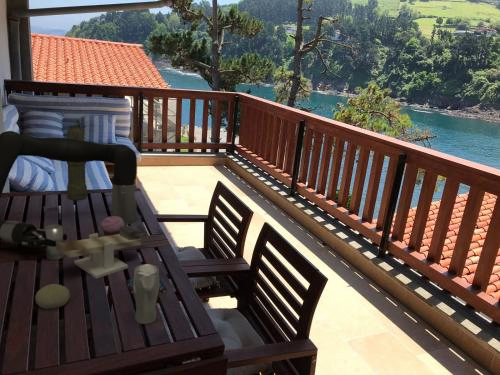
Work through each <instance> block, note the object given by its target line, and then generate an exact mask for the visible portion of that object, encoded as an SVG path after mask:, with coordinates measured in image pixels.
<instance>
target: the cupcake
mask: <svg viewBox="0 0 500 375" xmlns="http://www.w3.org/2000/svg"><path fill="white" fill-rule="evenodd" d="M125 226H126V224H124V221H123V219H122V218H120V217H118V216H106V217H105V218H104V219H103V220H102V221H101V222H100V229H101V231H103V232H102V233H103V236H110V235H117V234H120V227H125Z"/></svg>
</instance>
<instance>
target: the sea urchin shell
mask: <svg viewBox="0 0 500 375" xmlns="http://www.w3.org/2000/svg"><path fill="white" fill-rule="evenodd" d="M70 296H71V294H70V290H69V289H68V287H67V286H65V285H61V284H58V283H52V284H51V283H50V284H48V285H45V286H43V287H41V289H39V290H38V291H37V292H36V294H35V297H34V298H35V299H34V300H35V303H36V304H37V305H38V306H39V307H40V308H42V309H45V310H46V309H48V310H49V309H50V310H52V309H57V308H60V307H63V306H64V305H66V303H68V301H69V299H70Z"/></svg>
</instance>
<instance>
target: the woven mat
mask: <svg viewBox="0 0 500 375" xmlns="http://www.w3.org/2000/svg"><path fill="white" fill-rule="evenodd" d="M133 280H134V278H133V279H127V280H126V282H125V284H126V287H127V288H128V290H129V291H130V294H131V295H132V297H133V298H134V299H135V295H134V289H133ZM166 291H167V288H166V285H165V283H163V281H161V279H160V278H159V292H158V294H160V295H161V294H162V293H164V294H165V293H166Z"/></svg>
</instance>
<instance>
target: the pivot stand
mask: <svg viewBox="0 0 500 375" xmlns="http://www.w3.org/2000/svg"><path fill="white" fill-rule="evenodd" d="M97 237H99V233H98V232H95V233H92V234H89V235H88V239H90V238H97ZM114 251H115V250H114V243H113V242H110V243H106V244H104V252H98V253H93V254H88V256H87V257H84V258H81V259H76V260H74V264H75V265H76V266H77V267H79V269H80V268H81V269H82V270H83V271H85V272H86V273H88V274H89V275H90V274H91V275H90V276H92V277H93V278H94V279H99V278H102V277H104V276H108V275H112V274H113V273H118V272H120V271H124V270H126V269H129V265H128V264H126V263H125V262H124V261H122V260H120V259H118V258H117V257H115V254H114Z"/></svg>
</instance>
